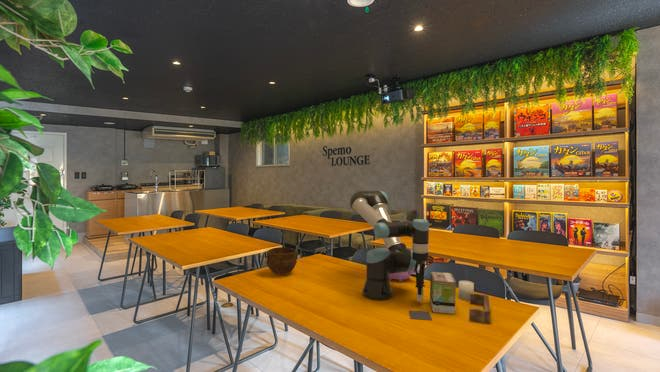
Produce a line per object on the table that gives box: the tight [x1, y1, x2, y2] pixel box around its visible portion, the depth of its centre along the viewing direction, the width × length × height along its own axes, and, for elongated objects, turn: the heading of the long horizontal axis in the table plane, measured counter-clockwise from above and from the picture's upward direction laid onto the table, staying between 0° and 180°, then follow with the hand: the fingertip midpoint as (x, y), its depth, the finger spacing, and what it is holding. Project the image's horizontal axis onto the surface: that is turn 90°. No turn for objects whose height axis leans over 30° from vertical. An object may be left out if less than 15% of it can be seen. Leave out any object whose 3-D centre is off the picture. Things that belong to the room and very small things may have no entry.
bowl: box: [266, 246, 298, 275], centre depth 210 cm, size 19×19×15 cm
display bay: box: [468, 292, 491, 324], centre depth 153 cm, size 8×22×5 cm, turn 157°
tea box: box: [429, 271, 457, 315], centre depth 159 cm, size 15×10×15 cm, turn 168°
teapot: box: [389, 267, 416, 283], centre depth 201 cm, size 22×16×14 cm
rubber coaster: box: [408, 309, 433, 321], centre depth 149 cm, size 9×9×1 cm
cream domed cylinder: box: [458, 280, 475, 302], centre depth 170 cm, size 7×7×8 cm
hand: (420, 300), depth 163 cm, fingers closed
